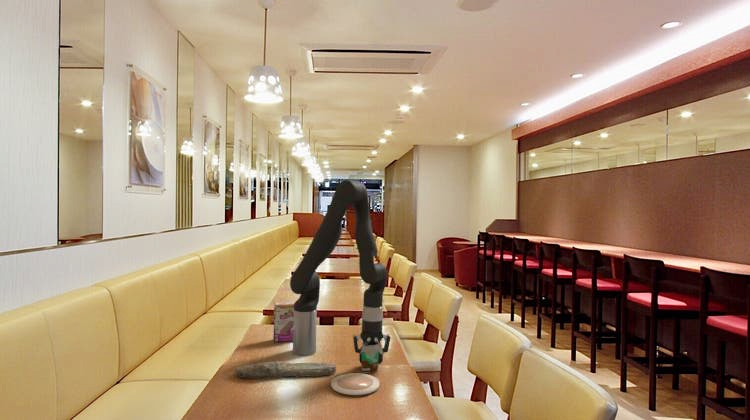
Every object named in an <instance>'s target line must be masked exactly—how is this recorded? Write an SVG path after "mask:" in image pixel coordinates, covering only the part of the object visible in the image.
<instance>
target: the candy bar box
mask: <svg viewBox="0 0 750 420" xmlns="http://www.w3.org/2000/svg"><path fill="white" fill-rule="evenodd" d="M295 302H296V301H295ZM295 302H293V301H292V302H289V301H288V302H274V305H273V335H272V336H273V339H272V340H273V343H285V342H286V343H287V342H293V326H294V303H295Z"/></svg>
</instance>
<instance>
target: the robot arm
mask: <svg viewBox="0 0 750 420" xmlns="http://www.w3.org/2000/svg"><path fill="white" fill-rule="evenodd" d="M350 206H352V208H353V210H354V214H355V229H354V240H355V243H356V247H357V251H358V255H359V258H358V261H359V262H358V263H359V264H358V265H359V267H358V269H359V275H360V278H361V280H362V281H363V282H364V283H365V284H367V285H368V288H367V289H365V290H364V292H363V303H362V305H363V306H362V313H361V314H362V315H361V332H360V334H358V335H356V334H353V335H352V339H353V348H354V352H355V353H356V354H357V353H358V358H359V359H358V360H359V363H360V364H361V365H362V352H361V350H362V346H365V345H366V346H367V345H376V344H379V345H380V343H379V342H381V341H382V340H383V341H384V345H383V348H381V349H380V350H379V362H378V365H381V364H382V363H383V359H384V357H383V356H384V354H385V353H388V352H389V349H390V348H389V347H390V344H391V343H390V341H391V335H390V334H383V322H384V320H383V318H384V311H383V302H384V301H383V297H384V296H383V295H384V292H385V288H386V284H387V279H388V270H387V267H386V266H385V264H383V263H382V262H375V257H376V256H377V255H378V254H379V251H378V247H377V243H376V239H375V236H374V232H373V228H372V227H373V226H372V221H371V214H370V206H369V195H368V191H367V188H366V185H365V184H364V183H363V182H361V181H358V180H352V179H344V180H342V181H340V183H338V185H337V187H336V189H335V191H334V194H333V196H332V199H331V201H330V204H329V207H328V209H327V211H326V213H325V215H324V217H323V219H322V221H321V223H320V225H319V227H318V229H317V230H316V233H315V234H314V236H313V239H312V241H311V243H310V245H309V247H308V248H307V250H306V252H305V255H304V256H303V258H302V260H301V261H300V263H299V264H298V266H297V267H296V269H295V270H294V272H293V273H292V275H291V277H290V280H289V287H290V290H291V292H292V293H294V294H296V295H300V296H299V297H298V299H296V300H295V303H294V326H293V341H292V355H297V356H310V355H313V354H315V353H316V352H317V322H318V321H317V316H318V315H317V313H318V310H317V309H318V304H319V301H320V292H321V291H320V288H321V281H320V280H321V279H320V276H319V273H318V272H317V271H316V270H317V269H318V268H319V266H320V265H321V264H322V263H324V262H325V260H326V259H328V258H329V257H330V256H331V254H332V253H333V252H334V250H335V248H336V246H337V245H338V243H339V241H340V239H341V236H342V231H343V230H342V229H343V228H342V226H343V219H344V216H345V214H346V212H347V210H348V209H349V207H350ZM360 340H362V343H361V346H360V348H359V344H358V342H360Z"/></svg>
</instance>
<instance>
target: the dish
mask: <svg viewBox="0 0 750 420" xmlns="http://www.w3.org/2000/svg"><path fill="white" fill-rule="evenodd" d="M330 387H331V389H332V390H334V391H335V392H337V393H339V394H343V395H348V396H362V395H368V394H371V393H374V392H376V391H377V390H378V389H379V388H380V380H379V379H378V378H377V377H375V376H373V375H372V374H371V375H370V374H368V373H362V372H361V373H360V372H359V373H358V372H355V373H354V372H349V373H344V374H343V373H342V374H339V375H337V376H335V377H334V378H332V380H331V381H330Z"/></svg>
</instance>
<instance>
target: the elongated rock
mask: <svg viewBox="0 0 750 420" xmlns="http://www.w3.org/2000/svg"><path fill="white" fill-rule="evenodd" d="M336 371H337V366H336V365H335V364H333V363H327V362H297V363H295V362H294V363H291V362H283V361H280V360H275V361H266V362H264V361H262V362H258V363H251V364H247V365H239V366H237V367H235V370H234V374H235V375H236V376H237V377H239V378H244V379H245V378H246V379H247V378H248V379H252V378H259V379H262V378H264V380H268V379H267V378H270V379H269V380H271V379H275V378H276V379H278V378H279V379H280V378H286V377H296V378H299V377H322V376H330V375H334V374H335V373H336Z"/></svg>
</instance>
